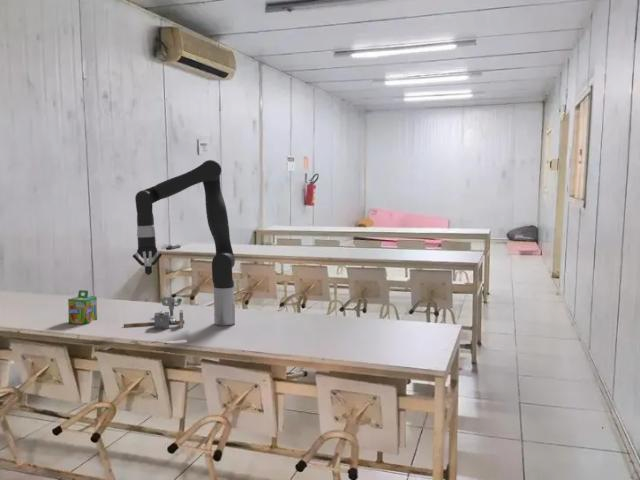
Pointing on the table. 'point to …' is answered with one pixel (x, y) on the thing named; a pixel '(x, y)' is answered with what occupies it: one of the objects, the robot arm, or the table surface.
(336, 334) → the table surface
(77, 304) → the chalk box
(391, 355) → the table surface
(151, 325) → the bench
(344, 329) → the table surface
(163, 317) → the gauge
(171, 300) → the mechanical component
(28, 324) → the table surface
